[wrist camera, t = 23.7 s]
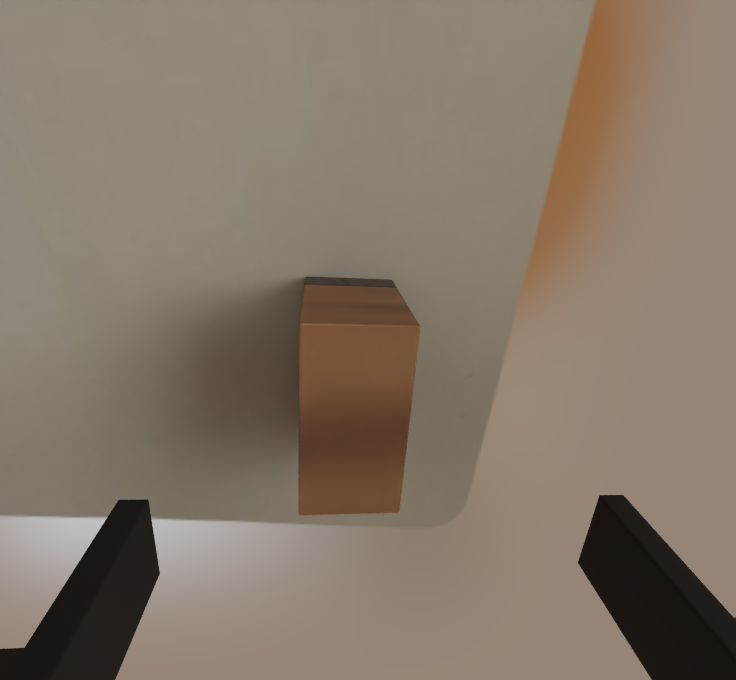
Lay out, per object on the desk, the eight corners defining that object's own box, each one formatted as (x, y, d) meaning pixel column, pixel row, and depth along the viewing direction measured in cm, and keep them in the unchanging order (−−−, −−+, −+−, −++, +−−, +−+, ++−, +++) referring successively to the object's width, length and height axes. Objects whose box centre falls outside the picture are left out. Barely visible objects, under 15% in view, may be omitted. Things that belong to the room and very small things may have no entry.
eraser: (305, 276, 22) (298, 322, 16) (392, 279, 23) (420, 325, 16) (304, 426, 25) (298, 515, 19) (380, 426, 26) (399, 513, 19)
